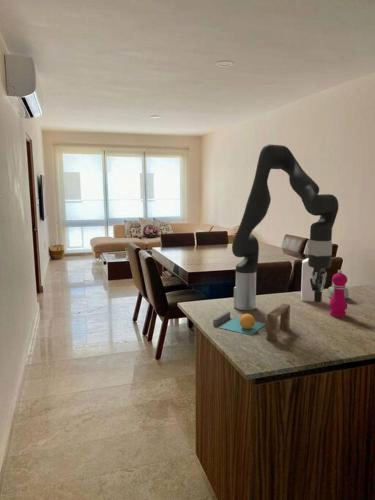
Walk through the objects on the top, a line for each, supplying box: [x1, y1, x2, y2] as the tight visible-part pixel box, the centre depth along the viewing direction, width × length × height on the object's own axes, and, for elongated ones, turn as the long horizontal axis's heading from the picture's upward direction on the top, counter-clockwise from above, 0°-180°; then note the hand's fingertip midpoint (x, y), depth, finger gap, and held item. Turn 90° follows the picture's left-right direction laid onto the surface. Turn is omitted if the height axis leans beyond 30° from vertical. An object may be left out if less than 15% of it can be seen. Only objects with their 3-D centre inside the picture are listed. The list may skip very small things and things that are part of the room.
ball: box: [239, 313, 256, 329], centre depth 146 cm, size 6×6×6 cm
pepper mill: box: [328, 269, 348, 318], centre depth 160 cm, size 7×7×20 cm
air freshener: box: [327, 280, 350, 299], centre depth 185 cm, size 11×8×10 cm
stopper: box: [212, 311, 231, 327], centre depth 155 cm, size 1×12×2 cm, turn 145°
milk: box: [300, 257, 315, 302], centre depth 183 cm, size 6×6×22 cm
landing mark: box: [219, 317, 267, 336], centre depth 150 cm, size 14×14×1 cm
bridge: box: [266, 303, 291, 342], centre depth 141 cm, size 3×15×10 cm, turn 145°
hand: (317, 301), depth 131 cm, fingers closed
